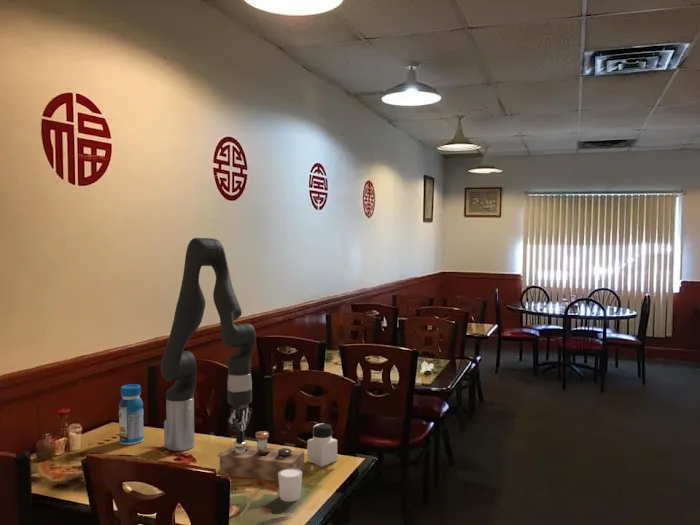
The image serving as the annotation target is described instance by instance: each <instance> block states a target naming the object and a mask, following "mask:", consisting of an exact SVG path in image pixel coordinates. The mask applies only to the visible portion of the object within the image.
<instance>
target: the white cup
mask: <svg viewBox="0 0 700 525" xmlns="http://www.w3.org/2000/svg"><path fill="white" fill-rule="evenodd" d="M278 479H279V482H278V486H279V498H280V500H281V501H283V502H289V503H290V502H296V501H299V500H300V499H301V494H302V492H301V491H302V481H303V472H302V471H301V470H298V469H284V470H281V471H280V472H279V473H278Z"/></svg>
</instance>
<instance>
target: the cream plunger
mask: <svg viewBox="0 0 700 525" xmlns="http://www.w3.org/2000/svg"><path fill="white" fill-rule="evenodd" d="M247 444H248V443H247V440H245V441H244V442H243V443H237V442H236V440H234V441H233V445H234V447H235V453H239V454H244V453H245V447H246V446H248V445H247Z"/></svg>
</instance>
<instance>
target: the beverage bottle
mask: <svg viewBox="0 0 700 525" xmlns="http://www.w3.org/2000/svg"><path fill="white" fill-rule="evenodd" d="M141 393H142V388H141V385H140V384H138V383H137V384H136V383H131V384H125V385H122V386H120V396H121V398H120V401H119V404H118V408H119V410H118V418H119V420H118V424H119V425H118V426H119V439H118V440H119V441H118V442H119V443H120V444H121V445H126V446H127V445H128V446H130V445H135V444H136V445H137V444H139V442H140V443H141V442H143V441H144V438H145V436H144V414H145V413H144V412H145V411H144V408H143V406H144V402H143V400H142V398H141V397H140V396H141Z"/></svg>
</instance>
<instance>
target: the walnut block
mask: <svg viewBox="0 0 700 525" xmlns="http://www.w3.org/2000/svg"><path fill="white" fill-rule="evenodd" d="M279 449H280V448H272V447H267V456H257V446H255V445H254V446H253V445H247V446H246V447H245V453H244V454H239V453H235V447H234V444H233V445H232V446H230V447H229V448H228V449H226V450H225V451H224V452H222V453H221V454H219V475H221V474H229V475H230V476H229V475H228V476H229V477H239V478H246V479H256V480H262V481H271V482H278V483H279V479H278V473H279V472H280V471H281V470H284V469H298V470H301V471H302V473H304V471H305V451H301V450H292V449H291V455H290V458H289V459H284V458H280V456H278V450H279Z"/></svg>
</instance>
